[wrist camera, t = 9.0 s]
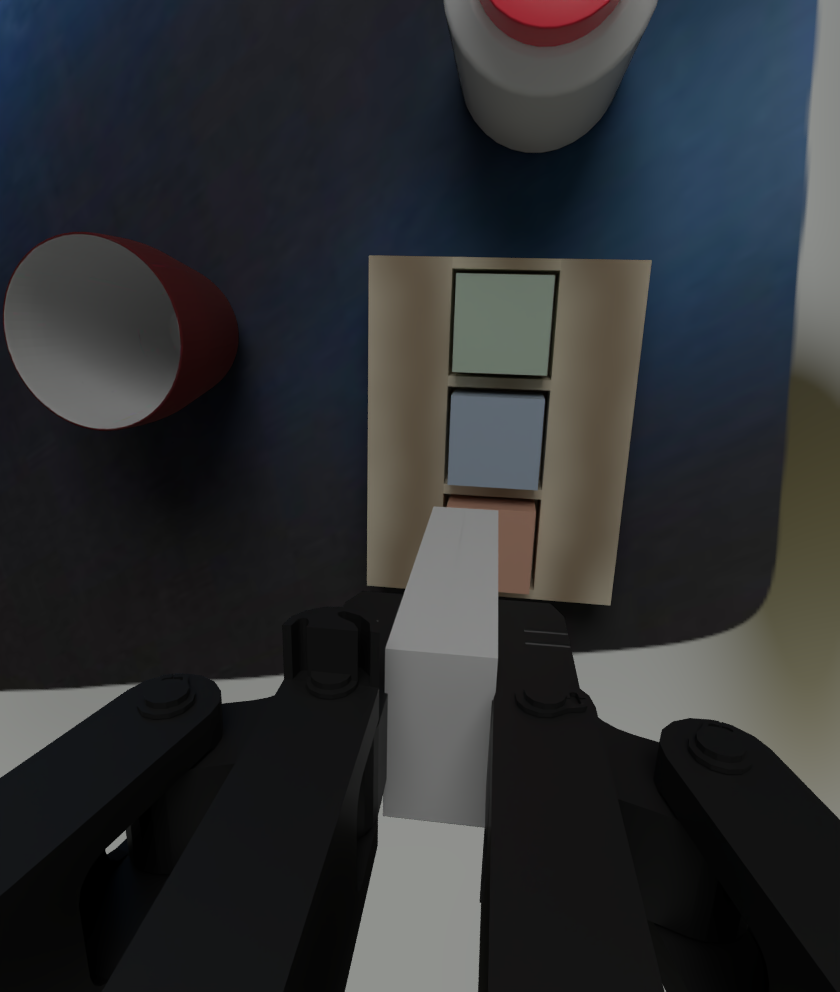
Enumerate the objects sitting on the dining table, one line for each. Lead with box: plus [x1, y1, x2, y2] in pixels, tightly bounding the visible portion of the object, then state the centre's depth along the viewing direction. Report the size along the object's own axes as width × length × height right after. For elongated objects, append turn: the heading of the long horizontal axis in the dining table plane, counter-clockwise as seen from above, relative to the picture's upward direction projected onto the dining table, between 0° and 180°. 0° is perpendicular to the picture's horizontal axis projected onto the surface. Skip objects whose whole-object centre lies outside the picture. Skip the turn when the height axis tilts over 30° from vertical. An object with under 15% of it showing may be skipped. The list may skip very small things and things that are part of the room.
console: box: [367, 255, 652, 605], centre depth 33 cm, size 13×17×3 cm
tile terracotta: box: [447, 494, 536, 594], centre depth 33 cm, size 4×4×3 cm
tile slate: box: [448, 389, 545, 490], centre depth 32 cm, size 4×4×3 cm
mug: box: [3, 232, 239, 431], centre depth 31 cm, size 10×8×10 cm
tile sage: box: [452, 273, 555, 376], centre depth 30 cm, size 4×4×3 cm
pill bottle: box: [443, 0, 658, 153], centre depth 25 cm, size 8×8×11 cm
